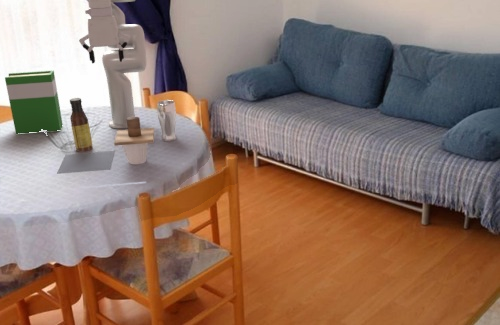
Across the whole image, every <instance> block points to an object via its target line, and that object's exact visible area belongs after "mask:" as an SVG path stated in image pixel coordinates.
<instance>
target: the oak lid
mask: <svg viewBox="0 0 500 325" xmlns="http://www.w3.org/2000/svg"><path fill="white" fill-rule="evenodd" d="M126 120H127V128H126V129H118V130H117V131H116V134H115V138H114V142H113V144H114V146H122V145H129V144H142V143H148V144H153V143H154V142H155V141H154V139H155V127H147V128H146V127H143V128H141V122H140V121H141V120H140V117H139V116H135V117H129V118H127V119H126Z"/></svg>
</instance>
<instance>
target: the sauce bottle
mask: <svg viewBox="0 0 500 325" xmlns="http://www.w3.org/2000/svg"><path fill="white" fill-rule="evenodd" d="M82 102H83V101H82V98H81V97H74V98H70V99H69V104H70V106H71V115H70V118H69V119H70V124H71V130H72V131H71V132H72V136H73V141H74V145H75V150H76V151H77V152H88V151H90V150H92V149H93V141H92V140H93V139H92V134H91V130H90V129H91V128H90V124H89V119H88V117H87V115H86V113H85V111H84V109H83V106H82Z"/></svg>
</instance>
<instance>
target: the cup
mask: <svg viewBox="0 0 500 325" xmlns="http://www.w3.org/2000/svg"><path fill="white" fill-rule="evenodd" d="M121 146H122V148H123V152H124V155H125V157H126V160H127V161H128V164H131V165H141V164H144V163H146V162H147V157H148V156H147V153H148V146H149V143H142V144H129V145H121Z"/></svg>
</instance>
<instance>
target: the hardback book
mask: <svg viewBox="0 0 500 325" xmlns="http://www.w3.org/2000/svg"><path fill="white" fill-rule="evenodd" d="M4 80H5V84H6V91H7V96H8V100H9V106H10V112H11V115H12V116H11V117H12V120H13V126H14V132H15V135H16V134H18V133H29V132H39V131H41V129H43V130H47V131H57V130H61V131H62V129H61V128H63V126H64V124H63V119H62V115H61V114H62V113H61V105H60V101H59V95H58V89H57V83H56V76H55V70H44V71H43V70H41V71H40V70H39V71H27V72H26V71H24V72H12V73H8V76H5V77H4ZM62 125H63V126H62Z"/></svg>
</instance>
